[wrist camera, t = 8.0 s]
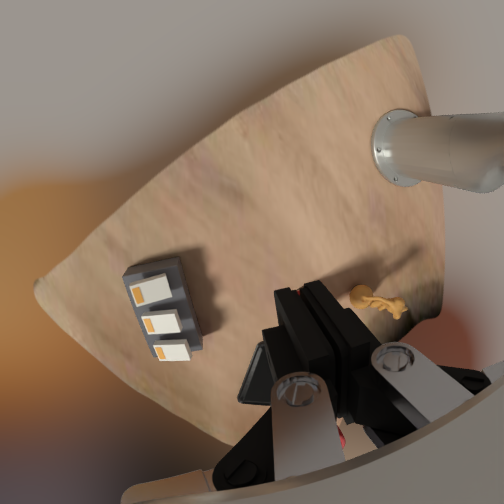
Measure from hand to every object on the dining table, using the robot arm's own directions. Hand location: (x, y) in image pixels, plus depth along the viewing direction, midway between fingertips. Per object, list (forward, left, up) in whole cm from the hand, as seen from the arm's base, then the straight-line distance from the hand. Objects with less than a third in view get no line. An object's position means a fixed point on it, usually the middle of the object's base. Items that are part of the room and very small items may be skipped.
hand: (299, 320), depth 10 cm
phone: (0, +32, -32) cm, 45 cm away
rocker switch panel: (+13, +13, -31) cm, 36 cm away
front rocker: (+13, +8, -27) cm, 31 cm away
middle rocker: (+13, +13, -27) cm, 33 cm away
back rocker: (+13, +18, -27) cm, 35 cm away
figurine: (-18, +18, -31) cm, 40 cm away
